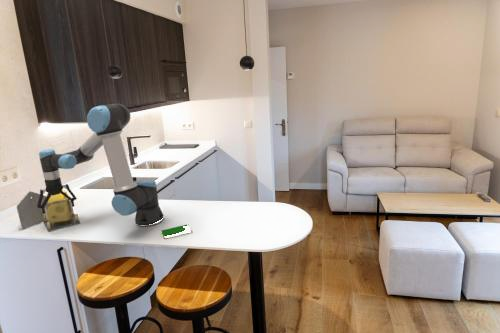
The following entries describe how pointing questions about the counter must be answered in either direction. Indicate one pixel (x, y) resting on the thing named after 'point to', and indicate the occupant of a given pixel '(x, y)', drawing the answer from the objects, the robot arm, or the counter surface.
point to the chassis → (61, 223)
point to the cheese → (58, 210)
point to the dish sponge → (173, 230)
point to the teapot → (57, 196)
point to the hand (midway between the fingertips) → (60, 215)
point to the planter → (30, 210)
